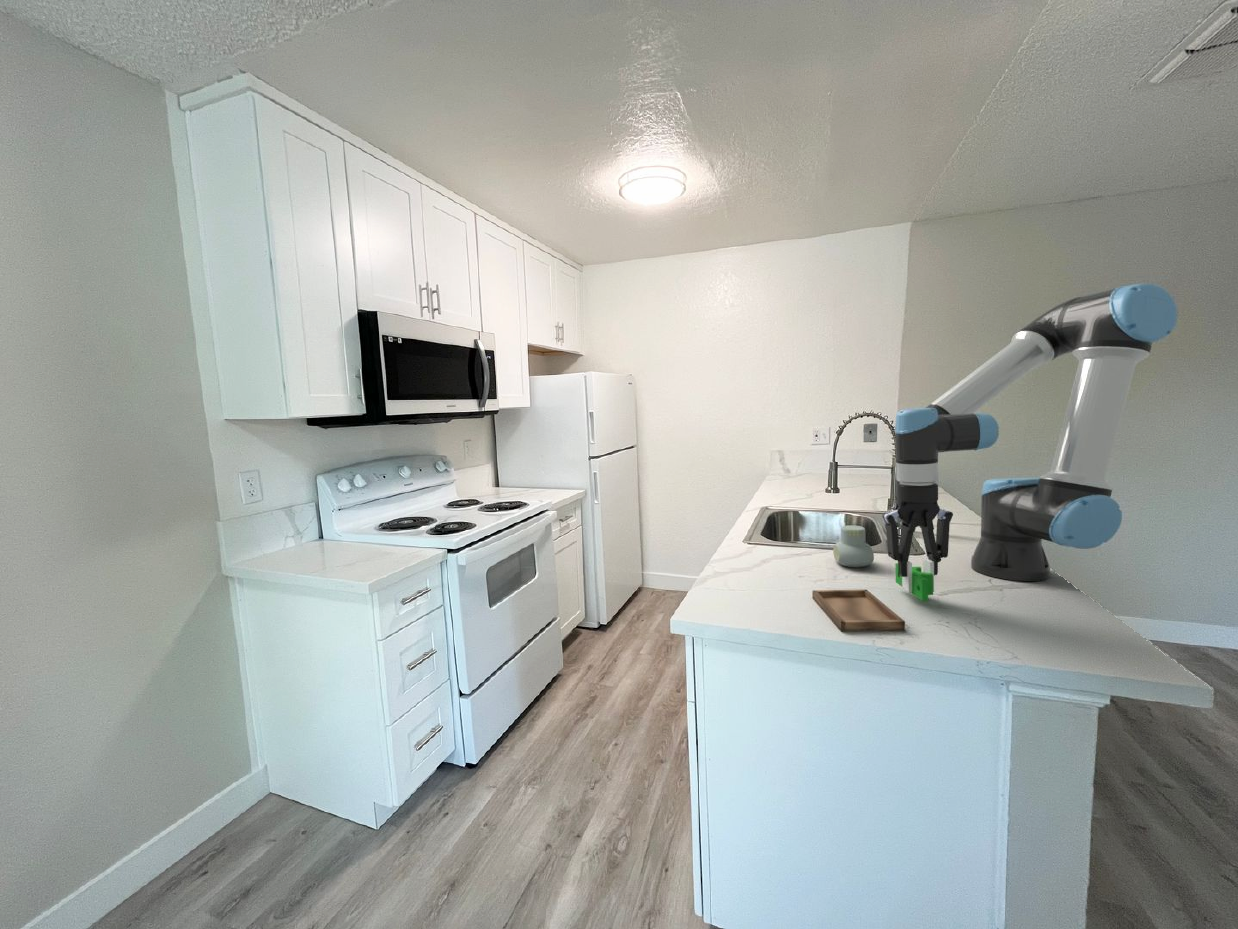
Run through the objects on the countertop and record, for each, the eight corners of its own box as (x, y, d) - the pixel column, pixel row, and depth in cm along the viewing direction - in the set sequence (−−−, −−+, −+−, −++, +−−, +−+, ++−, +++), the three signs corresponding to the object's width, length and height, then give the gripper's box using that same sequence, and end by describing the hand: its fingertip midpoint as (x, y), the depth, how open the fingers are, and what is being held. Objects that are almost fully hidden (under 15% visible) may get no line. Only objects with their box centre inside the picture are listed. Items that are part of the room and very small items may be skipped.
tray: (866, 597, 109) (866, 589, 109) (904, 630, 92) (905, 621, 92) (812, 598, 110) (812, 590, 109) (840, 631, 93) (841, 622, 93)
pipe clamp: (941, 600, 101) (941, 578, 100) (922, 601, 101) (922, 580, 101) (912, 581, 112) (912, 561, 111) (895, 582, 112) (895, 562, 112)
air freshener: (831, 558, 138) (831, 522, 136) (863, 558, 136) (864, 523, 135) (841, 570, 127) (841, 532, 126) (875, 571, 125) (876, 533, 124)
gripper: (947, 477, 107) (948, 582, 109) (867, 482, 108) (869, 585, 111) (970, 482, 99) (970, 594, 102) (883, 487, 101) (885, 598, 103)
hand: (918, 589), depth 106 cm, fingers closed on pipe clamp, 4 cm apart
